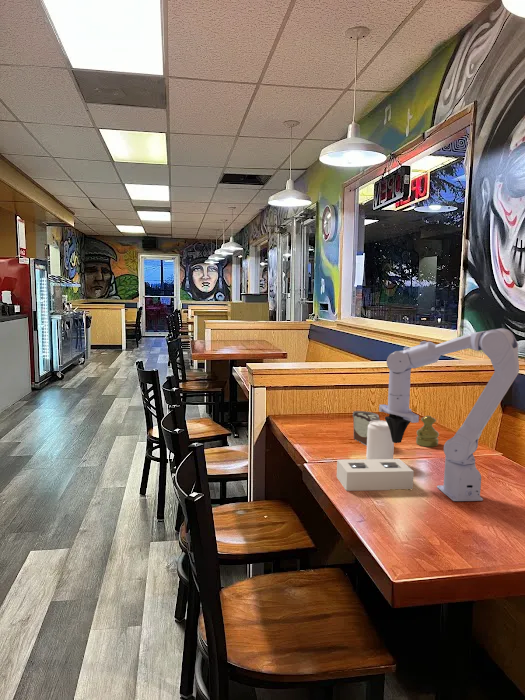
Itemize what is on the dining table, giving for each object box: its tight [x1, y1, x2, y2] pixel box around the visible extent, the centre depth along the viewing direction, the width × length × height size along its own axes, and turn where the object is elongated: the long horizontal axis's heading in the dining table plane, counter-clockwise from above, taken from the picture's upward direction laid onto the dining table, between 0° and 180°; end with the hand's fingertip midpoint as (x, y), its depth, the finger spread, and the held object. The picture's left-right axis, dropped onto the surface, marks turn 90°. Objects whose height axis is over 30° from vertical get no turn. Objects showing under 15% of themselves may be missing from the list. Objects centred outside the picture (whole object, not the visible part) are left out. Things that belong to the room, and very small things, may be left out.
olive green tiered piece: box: [415, 415, 440, 448], centre depth 174 cm, size 7×8×10 cm
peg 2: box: [383, 463, 398, 468], centre depth 136 cm, size 4×4×4 cm
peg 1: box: [351, 463, 366, 469], centre depth 135 cm, size 4×4×4 cm
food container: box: [352, 410, 381, 447], centre depth 174 cm, size 12×6×10 cm, turn 22°
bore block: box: [336, 458, 415, 492], centre depth 136 cm, size 10×18×5 cm, turn 96°
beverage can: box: [365, 419, 395, 459], centre depth 154 cm, size 8×8×12 cm
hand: (396, 442), depth 139 cm, fingers closed
